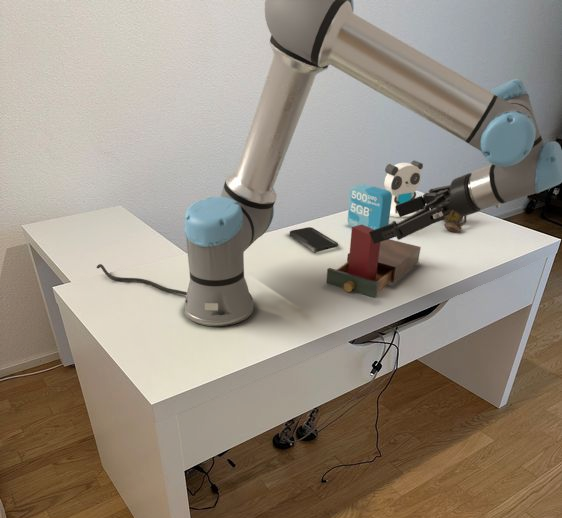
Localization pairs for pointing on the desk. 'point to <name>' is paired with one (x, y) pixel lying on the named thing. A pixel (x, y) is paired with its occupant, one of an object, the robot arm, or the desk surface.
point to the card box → (363, 253)
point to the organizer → (397, 256)
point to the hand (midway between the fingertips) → (385, 223)
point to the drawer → (359, 280)
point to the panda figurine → (402, 183)
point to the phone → (313, 239)
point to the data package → (369, 206)
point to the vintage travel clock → (454, 221)
